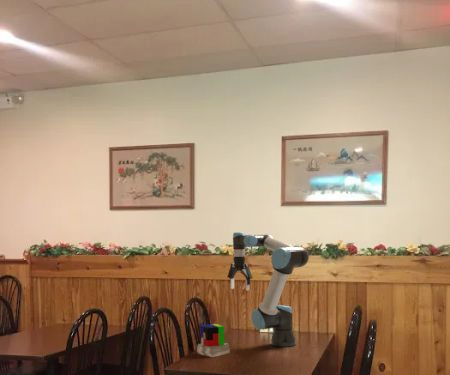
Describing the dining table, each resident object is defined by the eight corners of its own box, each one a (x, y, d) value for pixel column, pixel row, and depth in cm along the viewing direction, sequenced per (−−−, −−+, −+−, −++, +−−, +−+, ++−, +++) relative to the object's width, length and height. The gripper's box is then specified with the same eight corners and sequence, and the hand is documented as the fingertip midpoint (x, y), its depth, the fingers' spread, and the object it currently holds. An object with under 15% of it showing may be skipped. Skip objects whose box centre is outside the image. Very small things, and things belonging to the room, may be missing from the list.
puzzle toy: (201, 343, 268) (201, 325, 269) (217, 341, 272) (217, 323, 273) (207, 346, 259) (207, 328, 260) (224, 344, 263) (223, 326, 264)
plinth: (229, 352, 265) (229, 343, 266) (212, 357, 256) (212, 347, 257) (213, 349, 274) (213, 340, 275) (197, 353, 265) (196, 344, 266)
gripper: (221, 256, 312) (222, 288, 309) (249, 256, 294) (250, 291, 292) (229, 255, 317) (230, 287, 315) (257, 256, 299) (258, 290, 297)
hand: (240, 289), depth 303 cm, fingers open, 13 cm apart
